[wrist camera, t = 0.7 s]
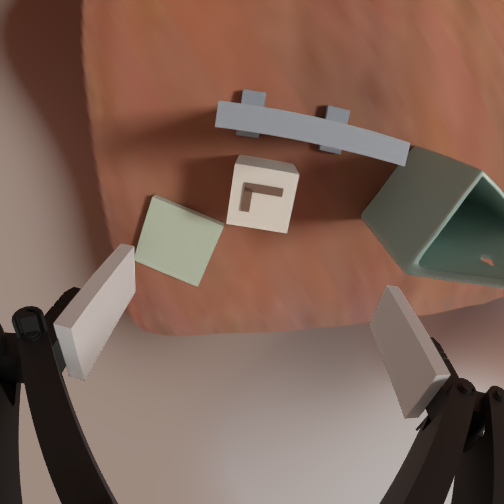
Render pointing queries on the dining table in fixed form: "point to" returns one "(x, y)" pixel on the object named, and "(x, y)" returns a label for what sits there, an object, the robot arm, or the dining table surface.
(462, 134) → the dining table surface
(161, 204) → the pad
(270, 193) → the letter cube
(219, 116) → the board
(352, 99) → the dining table surface
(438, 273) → the planter
